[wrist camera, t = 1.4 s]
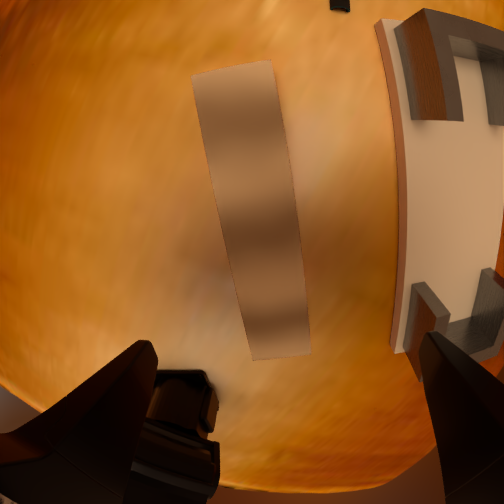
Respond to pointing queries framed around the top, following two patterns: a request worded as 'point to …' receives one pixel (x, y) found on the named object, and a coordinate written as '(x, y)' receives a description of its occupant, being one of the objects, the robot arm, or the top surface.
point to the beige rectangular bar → (256, 204)
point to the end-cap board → (444, 191)
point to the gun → (340, 4)
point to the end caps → (450, 109)
